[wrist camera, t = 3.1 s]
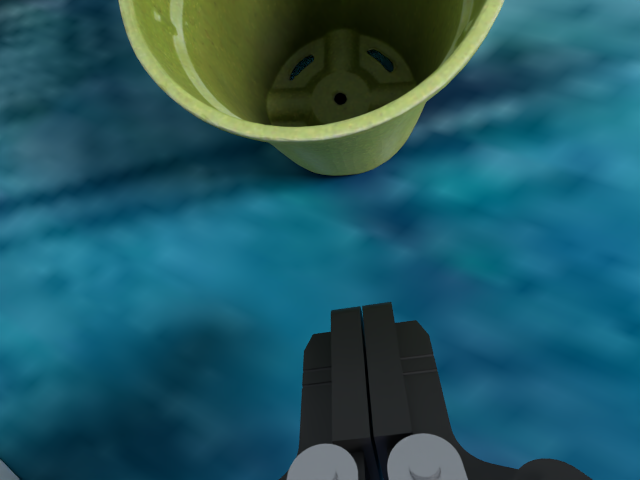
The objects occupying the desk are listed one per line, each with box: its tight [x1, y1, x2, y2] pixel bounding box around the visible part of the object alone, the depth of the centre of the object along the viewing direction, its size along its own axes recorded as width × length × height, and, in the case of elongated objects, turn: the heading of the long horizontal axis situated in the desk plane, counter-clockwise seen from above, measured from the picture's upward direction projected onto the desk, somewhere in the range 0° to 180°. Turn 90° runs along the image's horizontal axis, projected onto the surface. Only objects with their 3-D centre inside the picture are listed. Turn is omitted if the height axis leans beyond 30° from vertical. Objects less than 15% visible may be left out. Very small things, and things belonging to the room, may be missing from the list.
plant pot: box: [118, 0, 504, 175], centre depth 15 cm, size 9×9×9 cm
